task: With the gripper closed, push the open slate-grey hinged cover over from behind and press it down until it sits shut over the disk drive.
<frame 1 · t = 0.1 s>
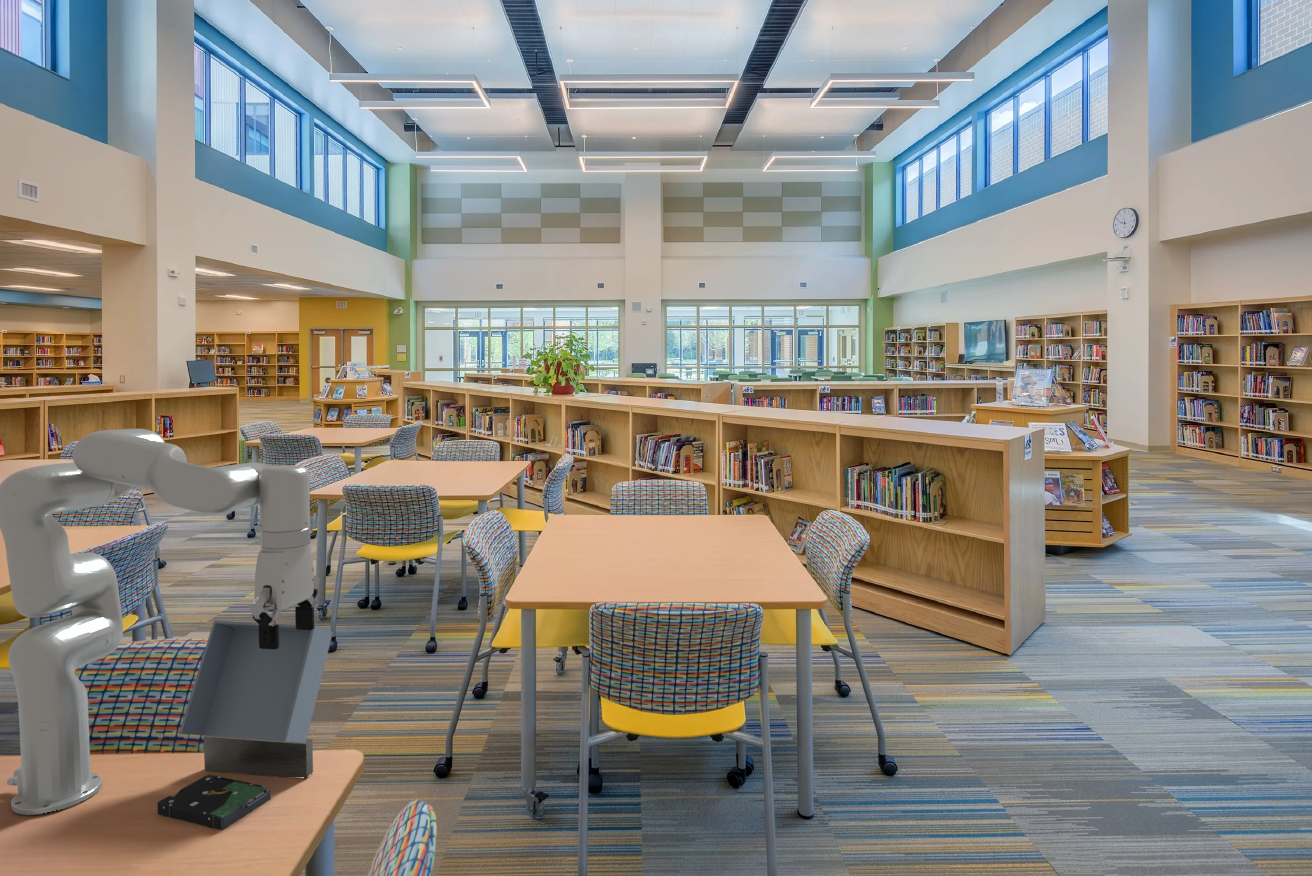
hand: (287, 638, 124), 31 cm above the table, tool pointing down, fingers open, 9 cm apart
disk drive: (215, 810, 129), on the table
cover: (259, 680, 140), point 18 cm above the table, hinge at 118.0°
long flat gray bar: (258, 772, 140), on the table
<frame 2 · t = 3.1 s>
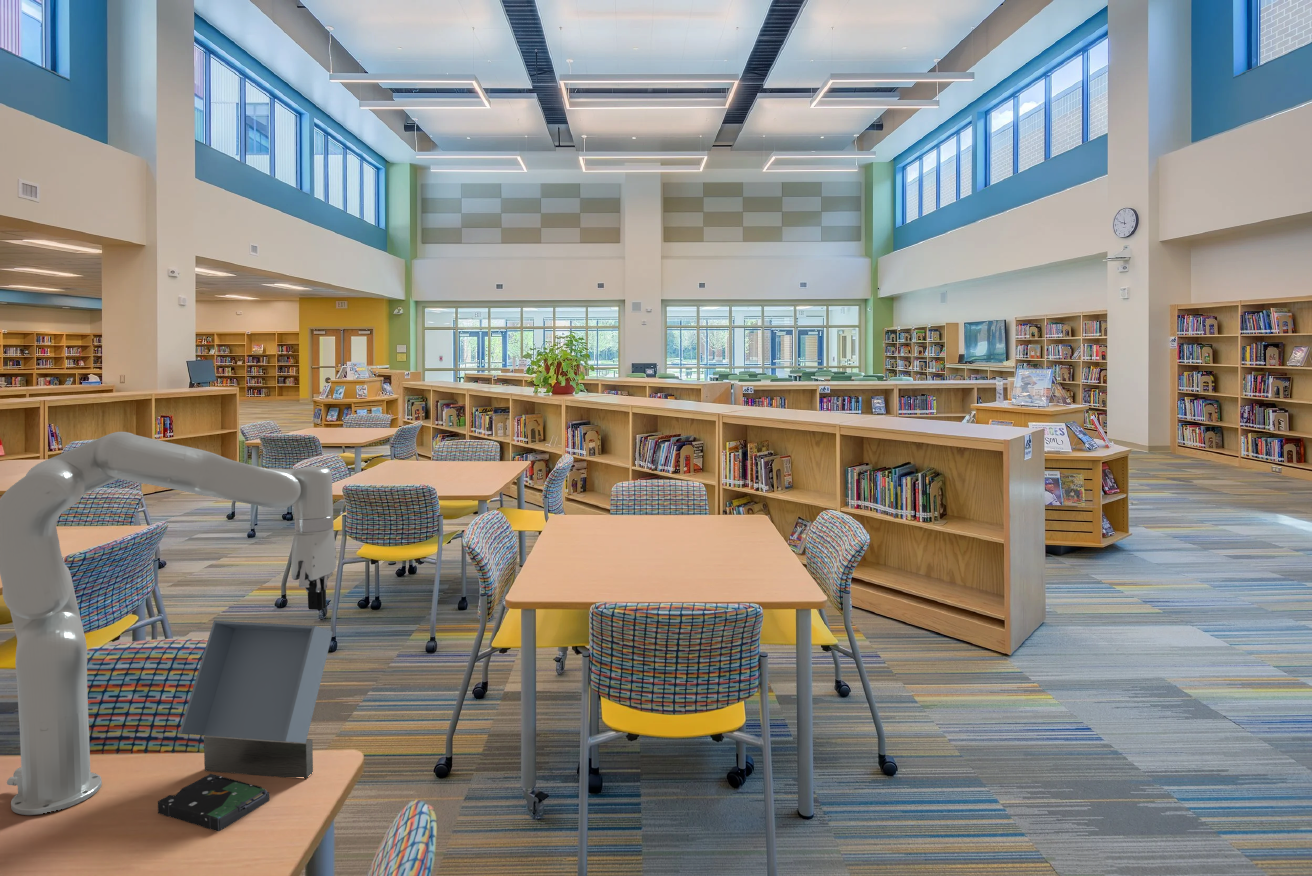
hand: (317, 608, 158), 26 cm above the table, tool pointing down, fingers closed
nothing on the table moved.
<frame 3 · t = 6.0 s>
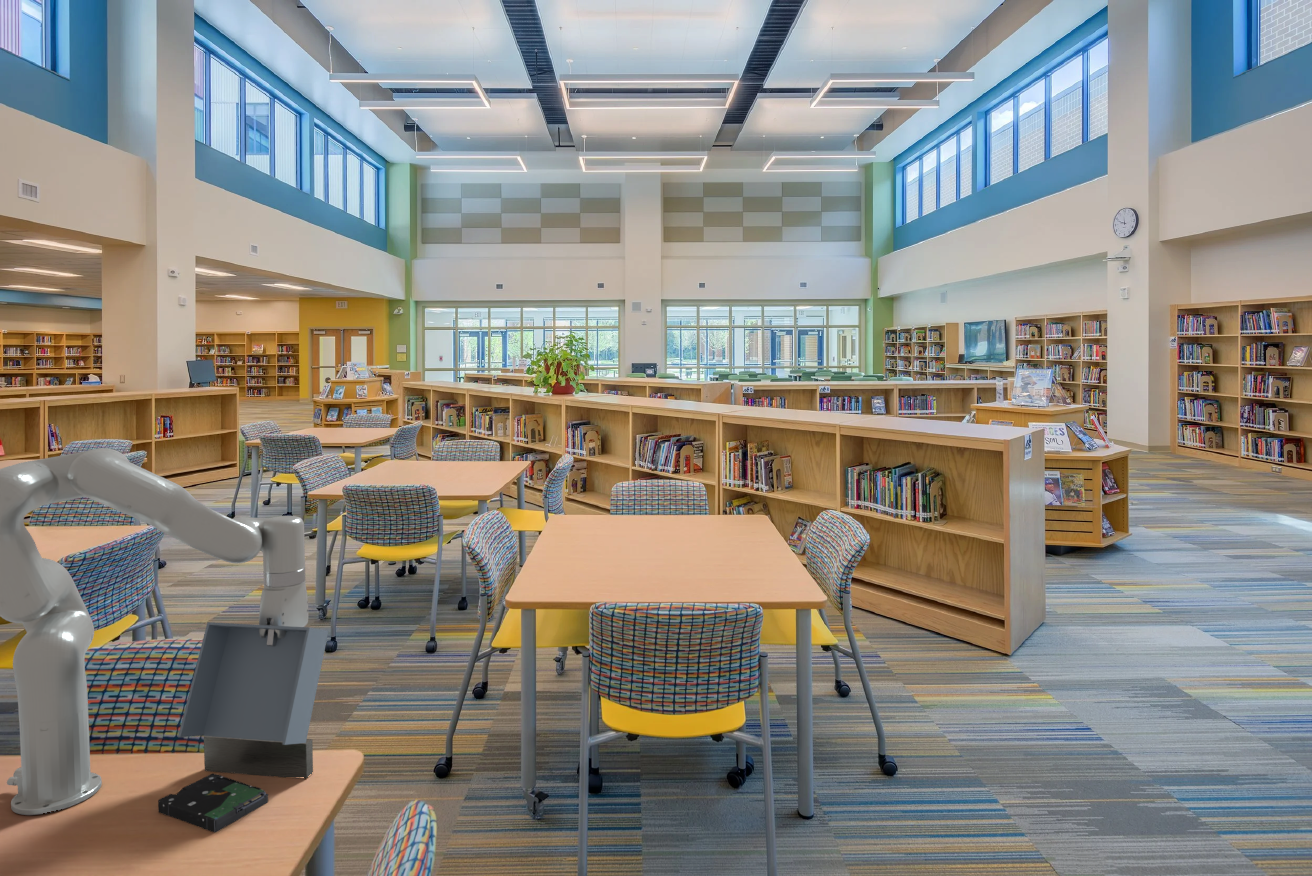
hand: (287, 666, 148), 17 cm above the table, tool pointing down, fingers closed
cover: (256, 681, 139), point 18 cm above the table, hinge at 113.3°, touching gripper
everything else where it was.
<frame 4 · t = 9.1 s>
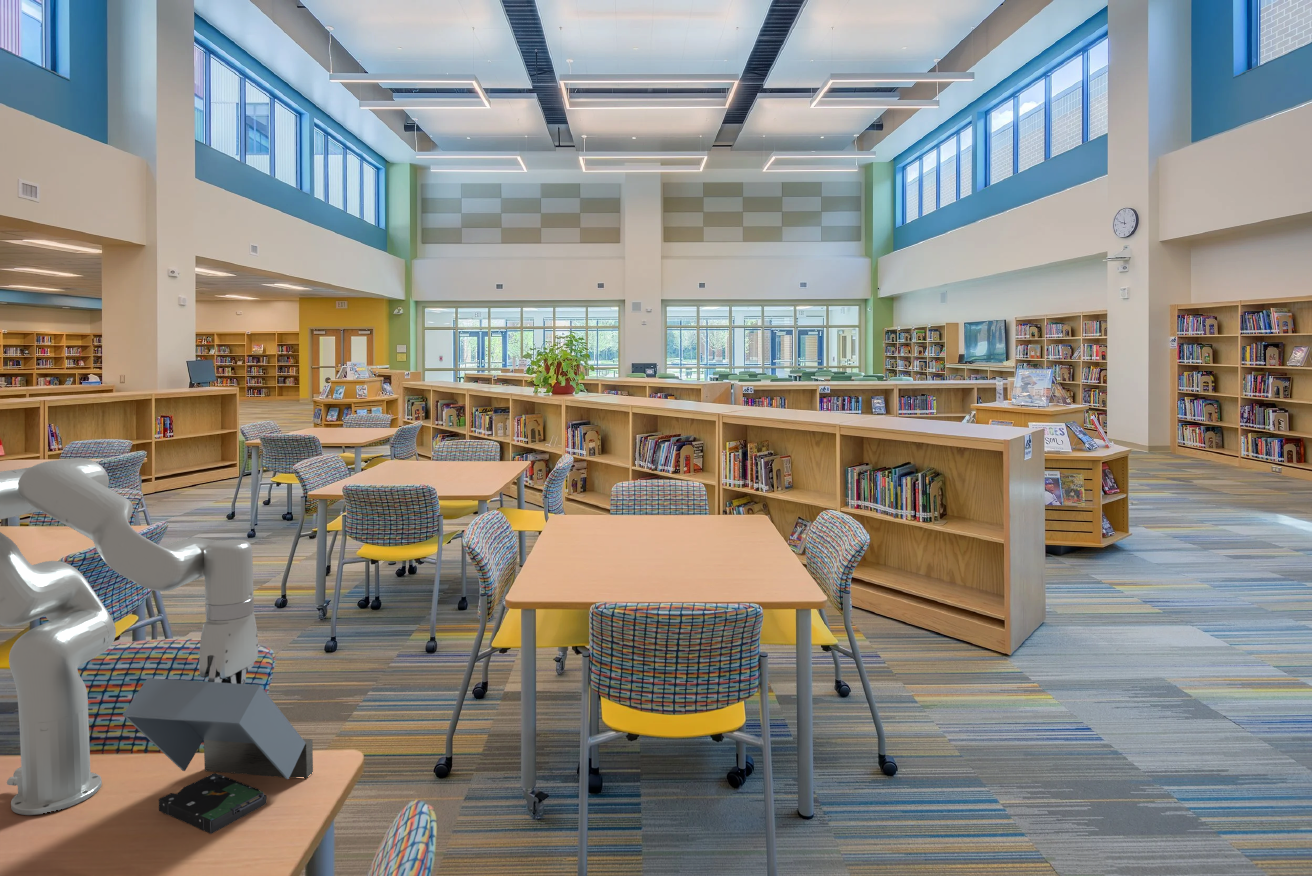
hand: (232, 708, 133), 15 cm above the table, tool pointing down, fingers closed
cover: (219, 729, 130), point 13 cm above the table, hinge at 52.2°, touching gripper
everything else where it was.
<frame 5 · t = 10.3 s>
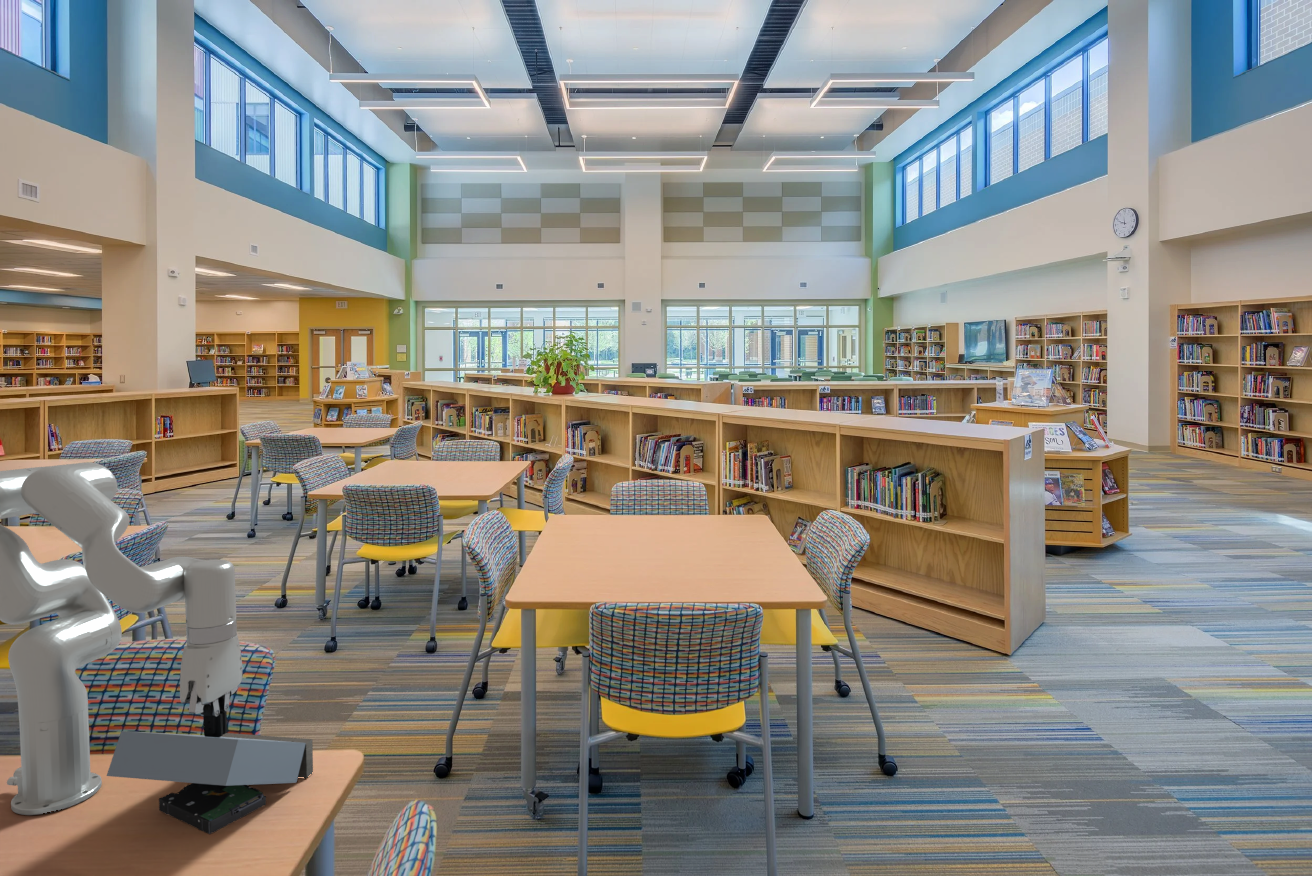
hand: (215, 734, 128), 13 cm above the table, tool pointing down, fingers closed
cover: (213, 758, 128), point 9 cm above the table, hinge at 27.3°, touching gripper
everything else where it was.
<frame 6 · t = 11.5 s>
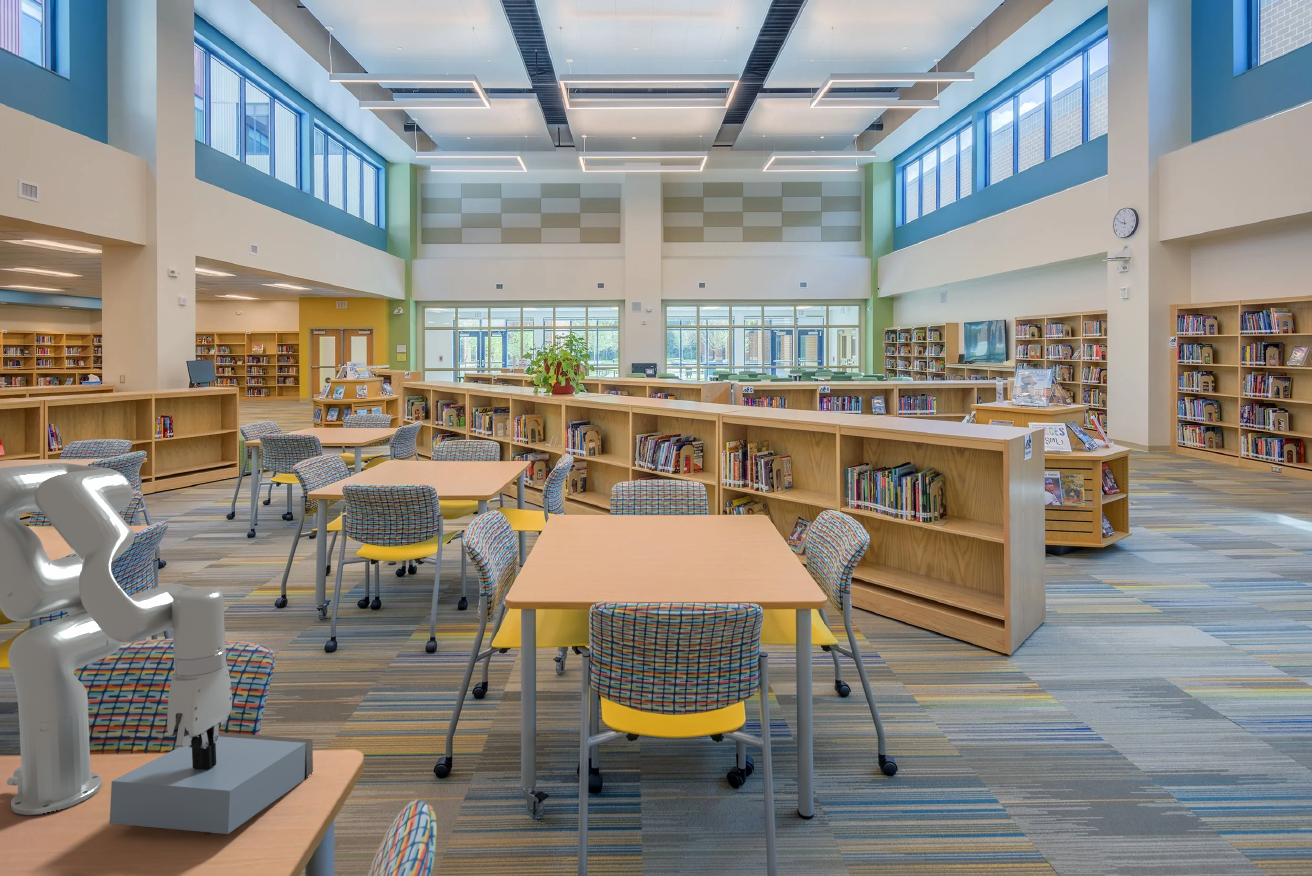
hand: (204, 766, 126), 9 cm above the table, tool pointing down, fingers closed
cover: (214, 780, 128), point 5 cm above the table, hinge at 5.7°, touching gripper
everything else where it was.
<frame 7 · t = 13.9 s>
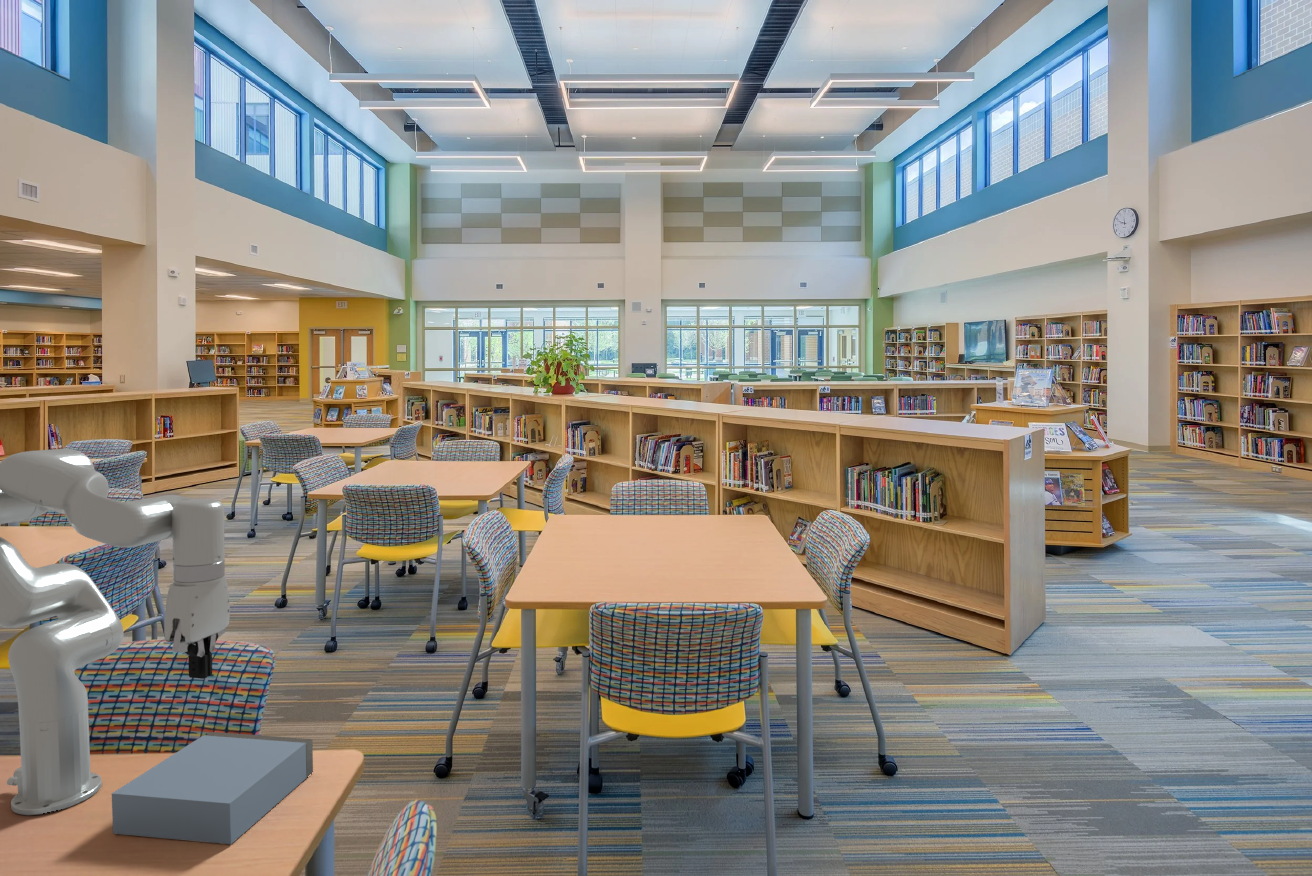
hand: (200, 676, 126), 24 cm above the table, tool pointing down, fingers closed
cover: (215, 785, 129), point 4 cm above the table, hinge at -0.1°
everything else where it was.
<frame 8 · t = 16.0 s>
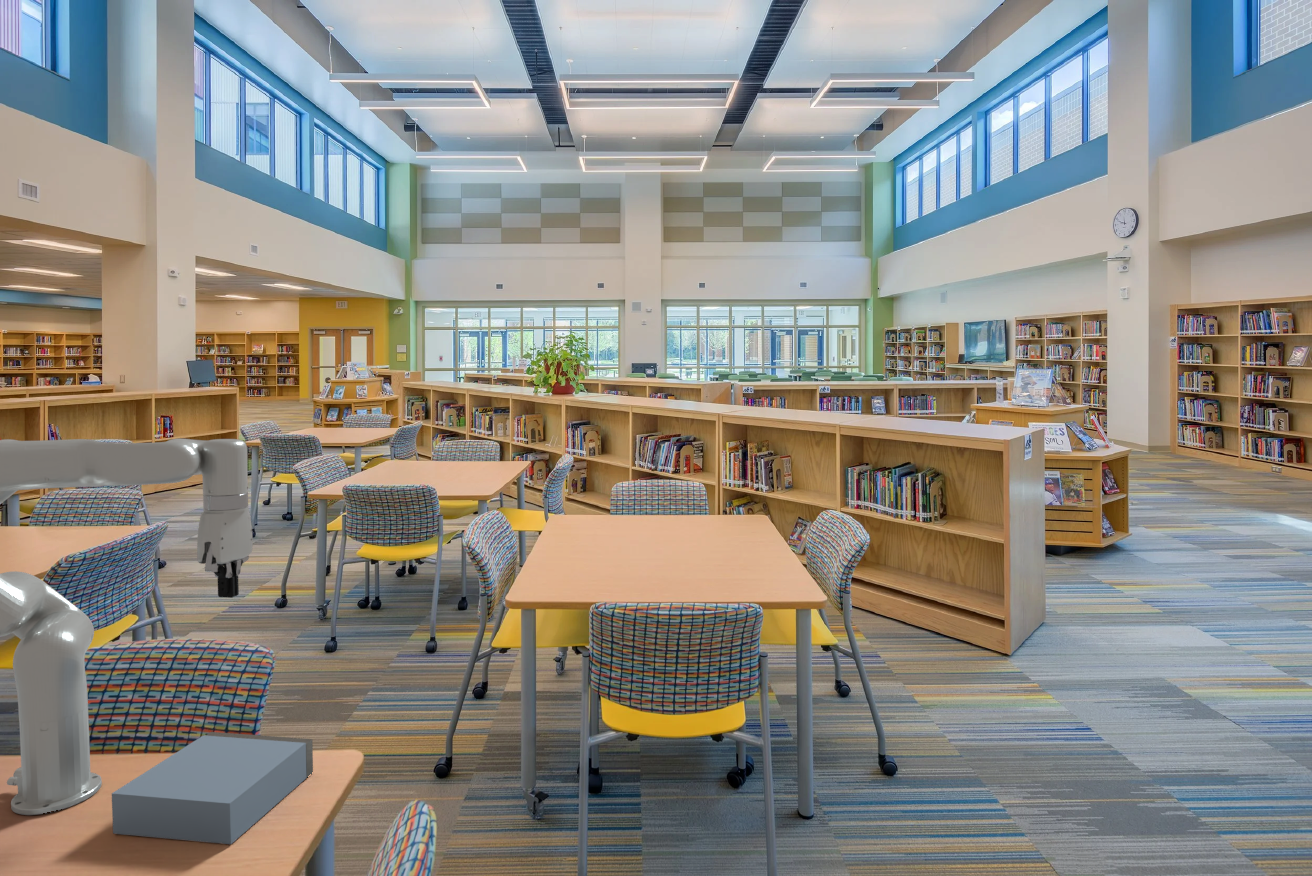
hand: (228, 596, 143), 33 cm above the table, tool pointing down, fingers closed
at the end: cover at +0° (first picture: +118°); disk drive moved 0.9 cm from its start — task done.
